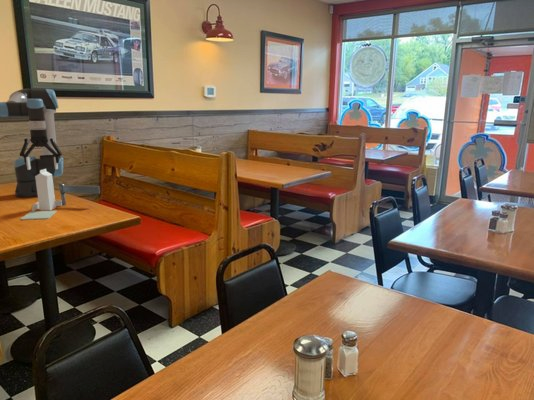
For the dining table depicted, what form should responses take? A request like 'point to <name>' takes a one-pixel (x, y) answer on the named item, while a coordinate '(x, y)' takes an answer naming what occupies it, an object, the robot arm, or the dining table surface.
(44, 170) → the milk
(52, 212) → the mat
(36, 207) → the bracket
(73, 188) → the dark grey metallic bar
